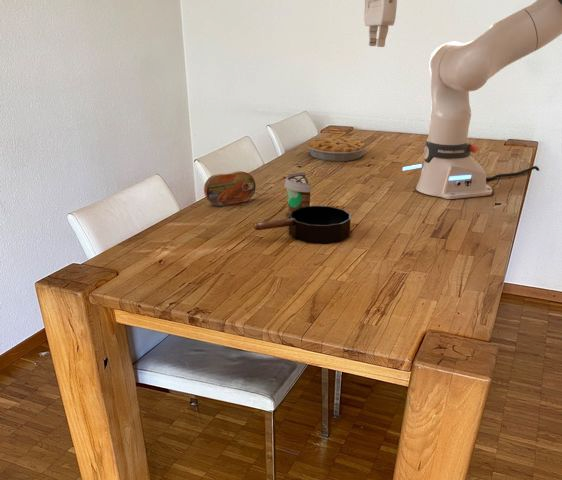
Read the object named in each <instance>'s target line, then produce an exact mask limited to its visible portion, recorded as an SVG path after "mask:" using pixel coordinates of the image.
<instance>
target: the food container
mask: <svg viewBox="0 0 562 480" xmlns="http://www.w3.org/2000/svg"><path fill="white" fill-rule="evenodd" d="M311 184H312V183H309V180H308V179H307V177H306V171H299V172H298V171H297V172H293V173H290V174H288V175H286V178H285V180H284V188H286V195H287V209H288V217H289V216H290V213H291V211H293V210H296V209H298V208H301V207H308V206H311V192H312V187H311V186H312V185H311Z"/></svg>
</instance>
